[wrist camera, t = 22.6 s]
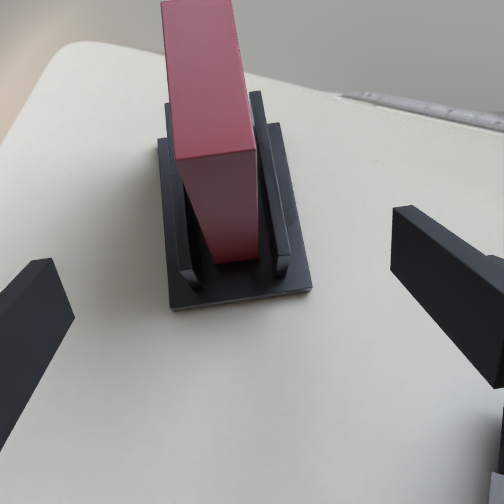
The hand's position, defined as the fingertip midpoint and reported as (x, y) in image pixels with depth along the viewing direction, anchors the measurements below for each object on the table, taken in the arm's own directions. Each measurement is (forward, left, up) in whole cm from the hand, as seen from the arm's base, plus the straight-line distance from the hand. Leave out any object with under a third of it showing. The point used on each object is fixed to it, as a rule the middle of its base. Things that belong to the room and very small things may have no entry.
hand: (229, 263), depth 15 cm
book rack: (-5, +6, -13) cm, 15 cm away
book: (-5, +6, -12) cm, 14 cm away
